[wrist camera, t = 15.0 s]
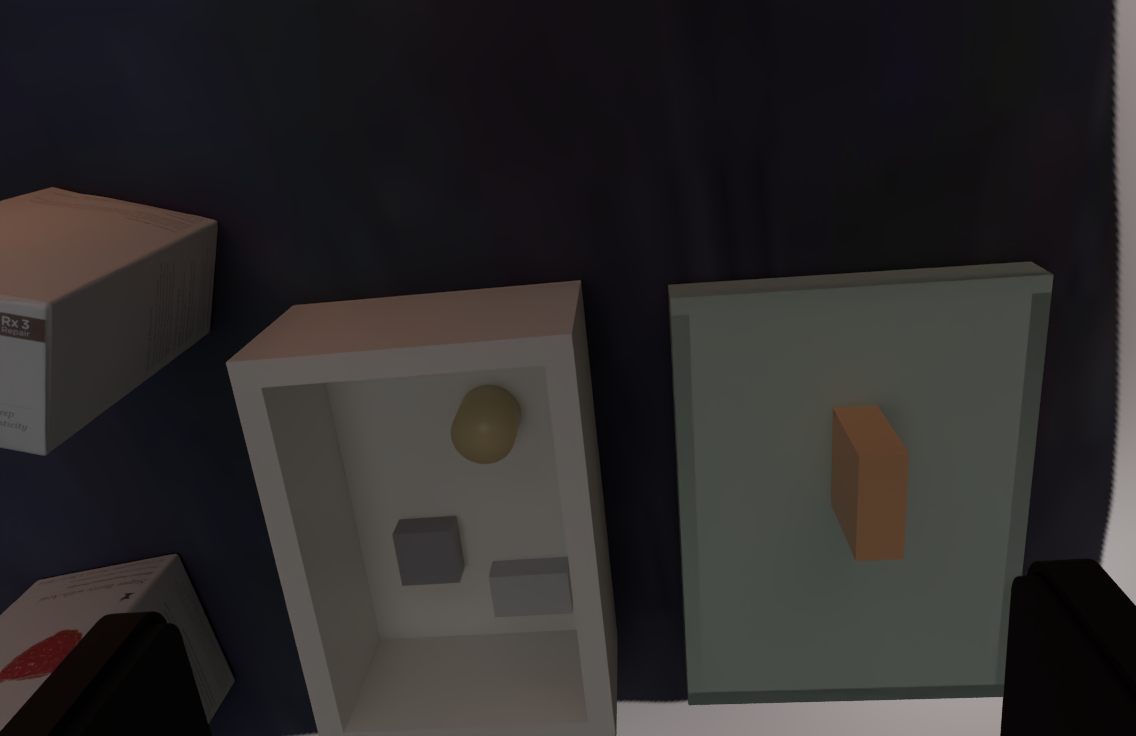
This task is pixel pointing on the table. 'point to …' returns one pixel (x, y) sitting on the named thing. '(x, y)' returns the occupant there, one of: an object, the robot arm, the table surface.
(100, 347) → the skincare box
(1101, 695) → the robot arm
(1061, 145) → the table surface
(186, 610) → the supplement box
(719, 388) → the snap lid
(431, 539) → the parts tub
